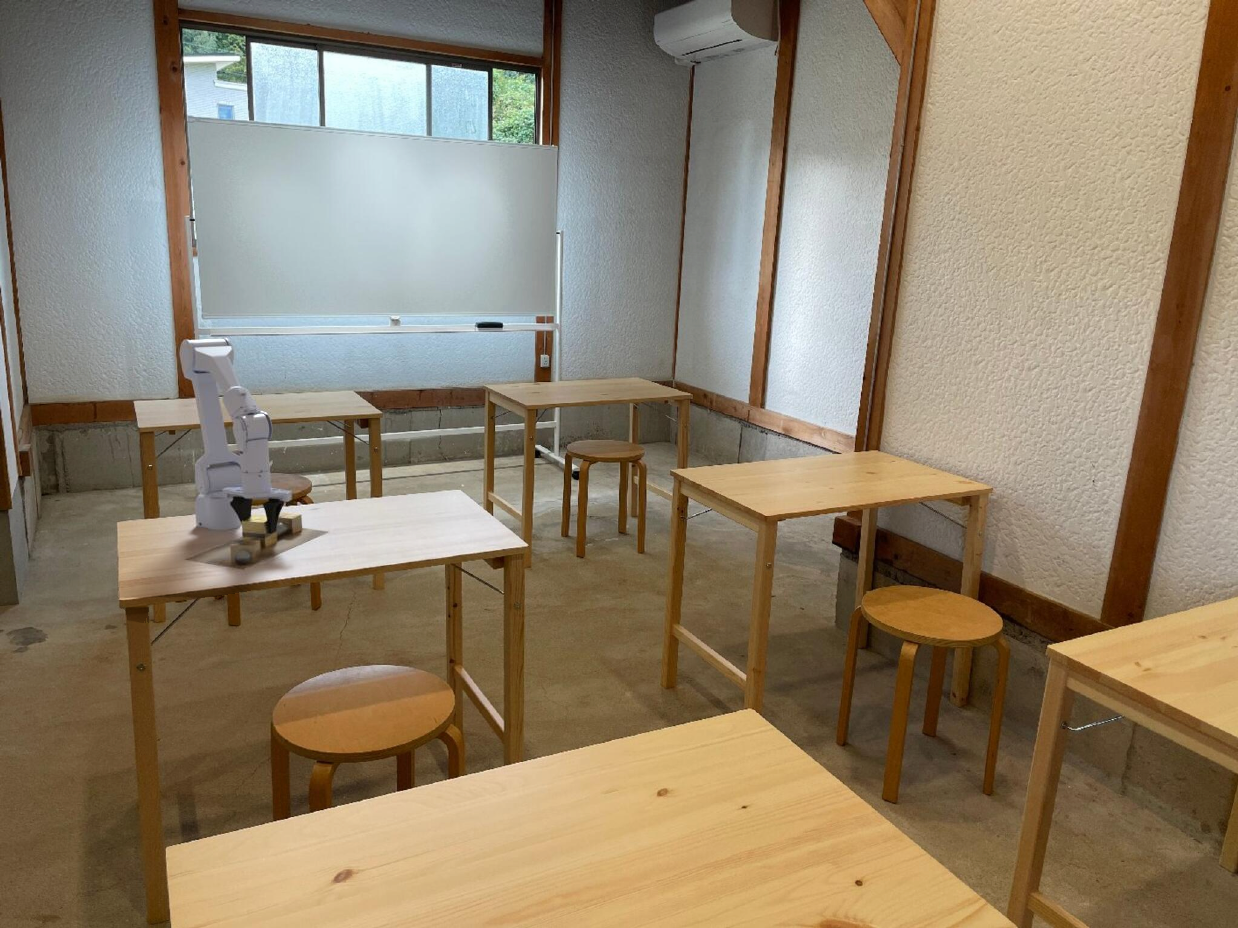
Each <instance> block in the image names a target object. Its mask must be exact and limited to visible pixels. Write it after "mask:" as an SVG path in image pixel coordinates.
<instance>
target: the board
mask: <svg viewBox="0 0 1238 928" xmlns="http://www.w3.org/2000/svg"><path fill="white" fill-rule="evenodd" d="M327 533H329V531H326V530H319V529H313V528H305V527H302V531H300V532H298V533H296V534H294V535H290V534H284V535H282V536H280V537H278V538H277V543H275V544H274V545H272V546H270V547H269V548H267V549H261V558H260V559H259V560H258V561H257V563H247V564H245V565H238V564H237V563H231V550H230V545H231V544H232V543H233V542H234V541H235V540H243V537H242V536H240V537H239V538H235V539H233V540H230V541H227V542H225V543H223V544H220V545H217V546H215V547H213V548H210V549H208V550H204V551H202V552H200V553H197V554H194V555H192V556H189V557H187V558H185V559H184V560H186V561H190V562H191V561H192V562H197V563H203V564H209V565H216V566H220V567H227V568H231V569H237V570H238V569H239V570H247V569H249V568H251V567H254V566H256V565H258V564H260V563H262V562H264V561H267V560H269V559H271V558H274V557H275V556H278V555H280V554H283V553H284V552H286V551H287V552H288V551H289V550H291V549H295V548H296V547H298V546H300V545H303V544H305V543H307V542H309V541H313V540H314V539H317V538H319V537H321V536H323V535H325V534H326V535H327Z"/></svg>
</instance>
